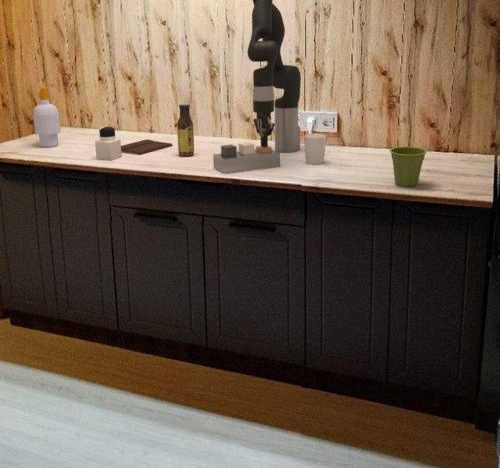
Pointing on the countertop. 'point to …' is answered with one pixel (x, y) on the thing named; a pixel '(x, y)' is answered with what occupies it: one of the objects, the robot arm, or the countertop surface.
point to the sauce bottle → (185, 132)
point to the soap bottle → (46, 121)
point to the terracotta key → (263, 149)
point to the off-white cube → (246, 148)
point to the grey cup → (315, 148)
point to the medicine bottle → (108, 144)
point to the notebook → (144, 147)
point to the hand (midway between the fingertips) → (264, 146)
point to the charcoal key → (228, 150)
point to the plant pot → (407, 164)
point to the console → (246, 161)
